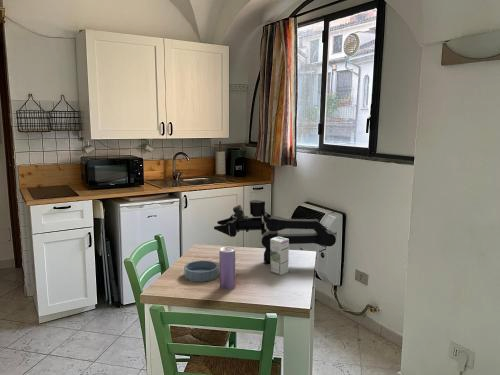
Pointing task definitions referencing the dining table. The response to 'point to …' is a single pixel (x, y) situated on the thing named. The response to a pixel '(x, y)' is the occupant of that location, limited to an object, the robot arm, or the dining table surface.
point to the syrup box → (279, 255)
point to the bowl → (201, 271)
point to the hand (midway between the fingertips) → (215, 225)
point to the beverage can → (227, 268)
